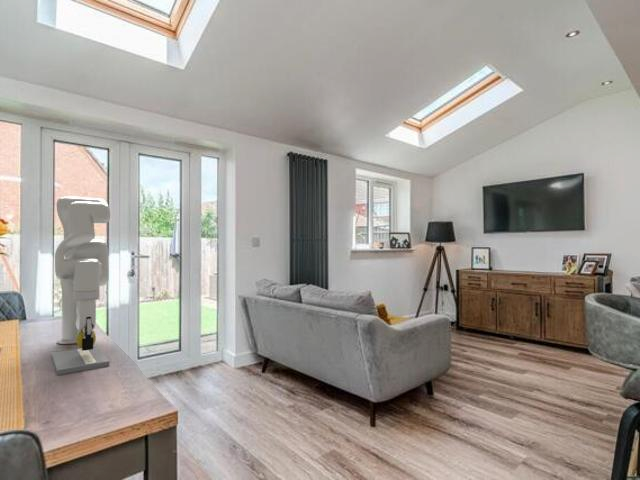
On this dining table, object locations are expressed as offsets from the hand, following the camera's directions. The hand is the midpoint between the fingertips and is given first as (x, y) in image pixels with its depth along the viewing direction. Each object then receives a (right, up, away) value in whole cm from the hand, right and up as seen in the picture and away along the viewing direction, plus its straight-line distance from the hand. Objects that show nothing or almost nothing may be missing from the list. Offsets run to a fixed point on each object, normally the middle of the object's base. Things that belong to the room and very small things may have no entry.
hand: (86, 347), depth 127 cm
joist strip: (0, -3, 0) cm, 3 cm away
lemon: (0, -1, 0) cm, 1 cm away
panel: (-1, -4, -1) cm, 5 cm away
